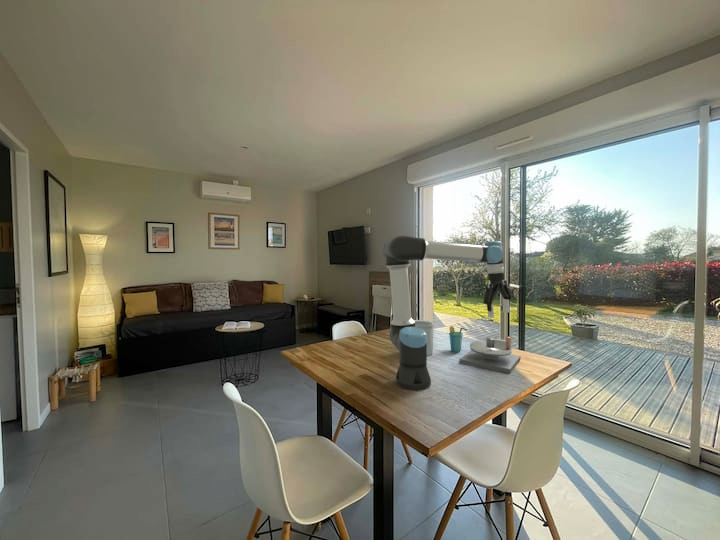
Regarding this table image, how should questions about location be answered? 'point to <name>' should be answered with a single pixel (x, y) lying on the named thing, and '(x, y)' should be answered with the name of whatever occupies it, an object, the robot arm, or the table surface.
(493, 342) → the handwheel
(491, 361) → the stand
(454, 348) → the cup
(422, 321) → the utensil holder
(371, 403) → the table surface
